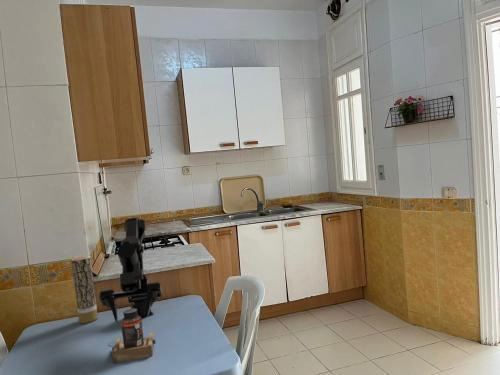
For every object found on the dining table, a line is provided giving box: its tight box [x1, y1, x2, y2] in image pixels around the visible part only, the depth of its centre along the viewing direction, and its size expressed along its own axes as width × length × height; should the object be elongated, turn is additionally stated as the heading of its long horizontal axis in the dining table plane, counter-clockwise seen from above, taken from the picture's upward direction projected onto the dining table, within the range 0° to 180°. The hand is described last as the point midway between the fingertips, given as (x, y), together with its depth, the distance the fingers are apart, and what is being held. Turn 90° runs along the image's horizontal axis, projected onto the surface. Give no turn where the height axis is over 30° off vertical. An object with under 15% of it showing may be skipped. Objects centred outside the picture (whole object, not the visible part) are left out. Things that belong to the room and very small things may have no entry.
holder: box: [111, 330, 157, 364], centre depth 115 cm, size 11×13×3 cm
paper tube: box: [71, 254, 98, 324], centre depth 146 cm, size 7×7×25 cm
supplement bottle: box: [120, 308, 145, 349], centre depth 115 cm, size 6×6×11 cm
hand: (131, 318), depth 116 cm, fingers open, 9 cm apart
